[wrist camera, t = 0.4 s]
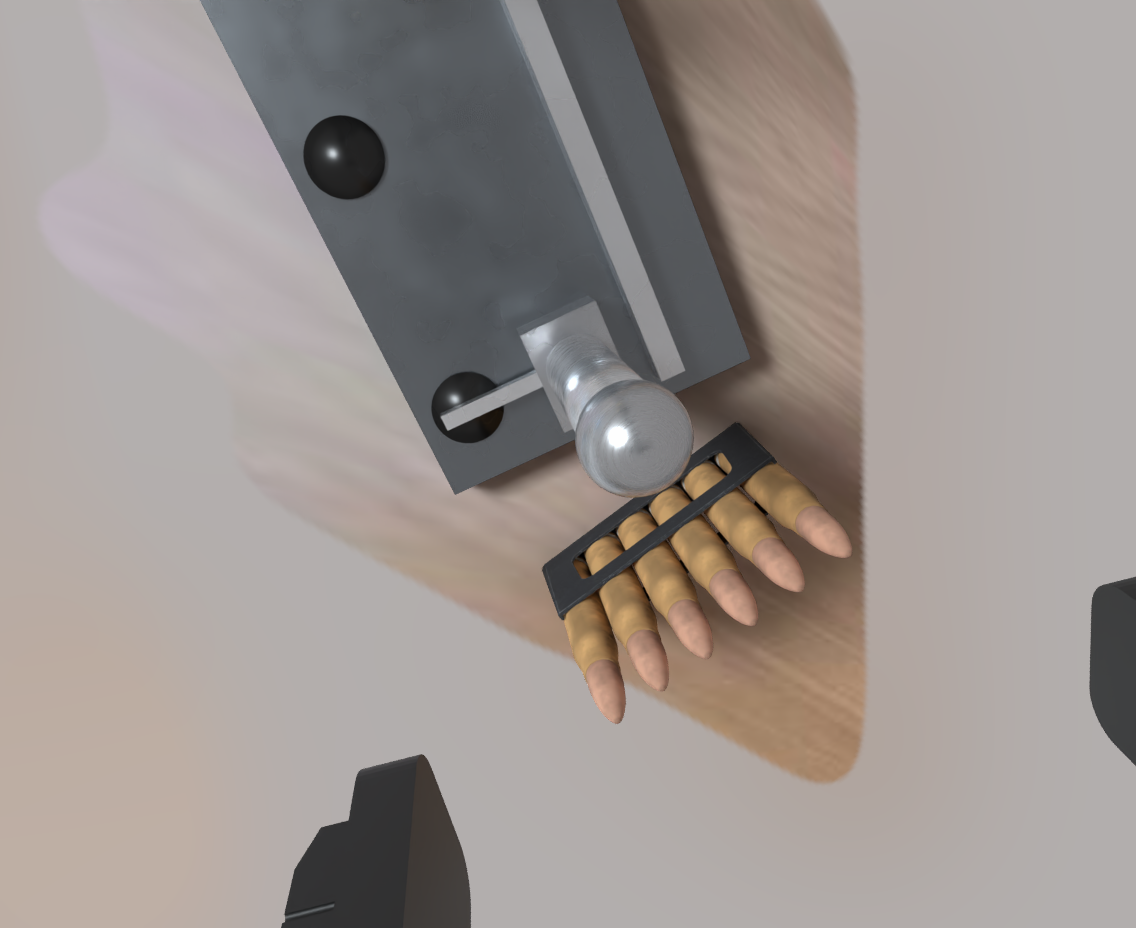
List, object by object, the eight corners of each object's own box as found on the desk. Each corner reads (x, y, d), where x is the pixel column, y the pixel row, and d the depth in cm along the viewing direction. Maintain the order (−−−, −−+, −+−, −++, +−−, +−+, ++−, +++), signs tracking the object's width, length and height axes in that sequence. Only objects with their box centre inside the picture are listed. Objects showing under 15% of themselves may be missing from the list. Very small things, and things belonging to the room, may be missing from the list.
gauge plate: (174, -68, 30) (142, -100, 27) (516, -228, 30) (523, -278, 27) (455, 479, 37) (455, 504, 34) (735, 350, 37) (760, 363, 33)
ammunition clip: (565, 596, 39) (610, 758, 27) (540, 567, 38) (575, 719, 27) (759, 453, 38) (889, 557, 27) (736, 420, 37) (859, 513, 26)
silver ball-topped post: (421, 372, 33) (397, 479, 20) (587, 295, 33) (673, 352, 20) (466, 462, 34) (472, 619, 21) (627, 388, 34) (732, 499, 21)
